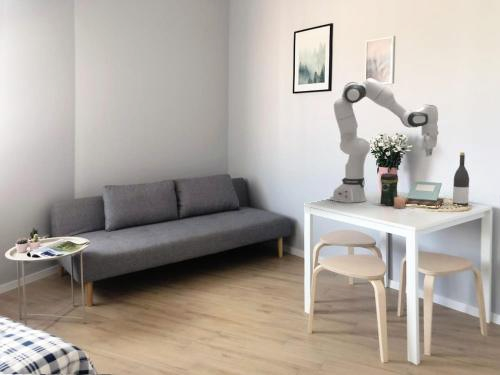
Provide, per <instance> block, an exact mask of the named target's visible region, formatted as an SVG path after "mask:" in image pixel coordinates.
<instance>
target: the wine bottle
mask: <svg viewBox="0 0 500 375" xmlns="http://www.w3.org/2000/svg"><path fill="white" fill-rule="evenodd" d="M465 160H466V155H465V152H463V151H462V152H460V154H459V166H458V167H457V170H456V171H455V174H454V175H453V188H452V190H453V191H452V205H453V204H457V205H464V206H463V207H465V206H466V205H467V206H469V193H470V192H469V190H470V176H469V172H468V170H467V169H466V167H465ZM467 206H466V207H467Z"/></svg>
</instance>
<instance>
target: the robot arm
mask: <svg viewBox="0 0 500 375" xmlns="http://www.w3.org/2000/svg"><path fill="white" fill-rule="evenodd" d="M365 97H366V98H367V99H370V101H373V103H375V104H376V105H378V106H380V107H382V108H385V109H387V110H388V111H390V112H391V113H392V114H394V115H395V116H397V117H398V118H399V120H400V121H401V123H402V124H403V125H404V127H407V128H419V127H421V136H422V140H421V149H422V150H424V153H425V157H426V158H428V157H431V156H432V155H433V150H434V149H435V148H436V147H437V143H438V135H439V127H438V122H439V110H438V107H437V106H436V105H433V104H423V106H421V107H419V108H418V109H415V110H411V109H410V110H409V109H407V108H405V107H404V106H403V105H402V104H400V103H399V102H398V101H397V100H396V99H395V95H394V92H393V91H392V90H391V89H390V88H389V87H388V86H386V85H385V84H384V83H382V82H381V81H378V80H377V79H375V78H372V77H369V78H366V79H365V80H364V81H363V82H361V83H360V84H359V83H358V82H356V81H355V82H354V81H352V82H351V81H350V82H348V83H346V85H344V88H343V91H342V97H341V98H338V99H337V100H336V101H335V102H333V109H334V110H333V111H334V116H335V120H336V122H337V123H336V124H337V126H338V130H339V135H340V142H339V148H340V150H341V151H342V152H343V153H344V154H346V155H348V159H347V162H346V164H345V167H344V168H345V177H344V178H342V179H341V182H342V183H341V184H340V185H338V186H337V187H336V188H335V189H334V190H333V193H332V196H331V197H329V200H330V201H332V200H333V201H332V202H339V201H340V202H341V203H346V204H347V203H349V204H350V203H362V202H366V201H367V198H366V193H365V182H366V181H365V177H364V176H365V173H364V172H365V169H364V168H365V163H366V158H367V155H368V154H369V152H370V150H371V145H370V143H369V141H368V140H366V139H365V138H361V137H359V136H358V127H359V126H358V125H359V124H358V122H357V118H356V115H355V110H354V109H353V104H356V103H358V102H360V101H361V100H362V99H364V98H365ZM340 202H339V203H340Z"/></svg>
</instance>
